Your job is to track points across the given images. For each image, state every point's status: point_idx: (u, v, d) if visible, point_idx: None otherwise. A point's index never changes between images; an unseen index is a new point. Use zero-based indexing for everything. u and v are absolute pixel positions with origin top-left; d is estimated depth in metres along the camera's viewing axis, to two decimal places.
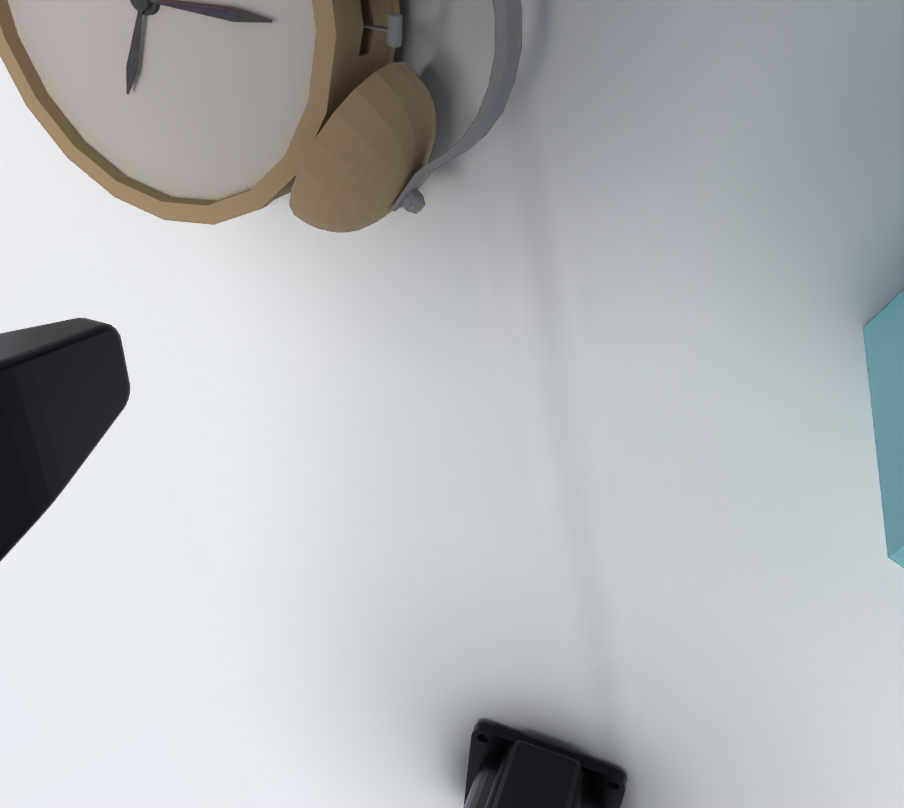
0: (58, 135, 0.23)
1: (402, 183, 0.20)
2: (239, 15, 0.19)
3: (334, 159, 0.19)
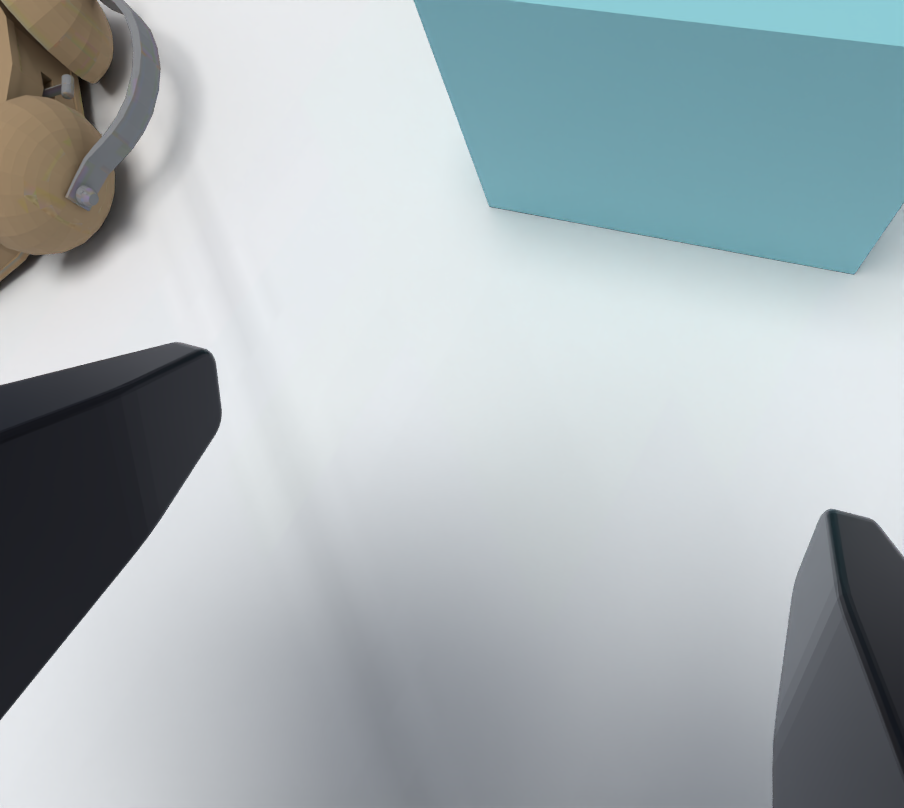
0: None
1: (73, 170, 0.24)
2: None
3: (2, 123, 0.23)
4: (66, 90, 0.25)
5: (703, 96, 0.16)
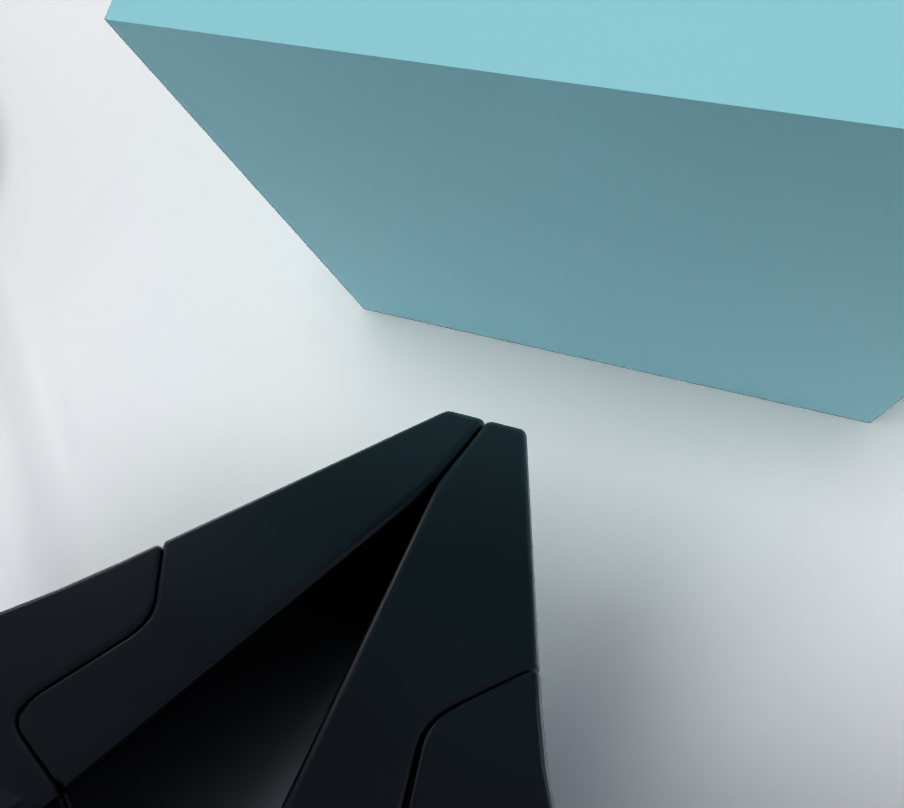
0: None
1: None
2: None
3: None
4: None
5: (623, 200, 0.09)
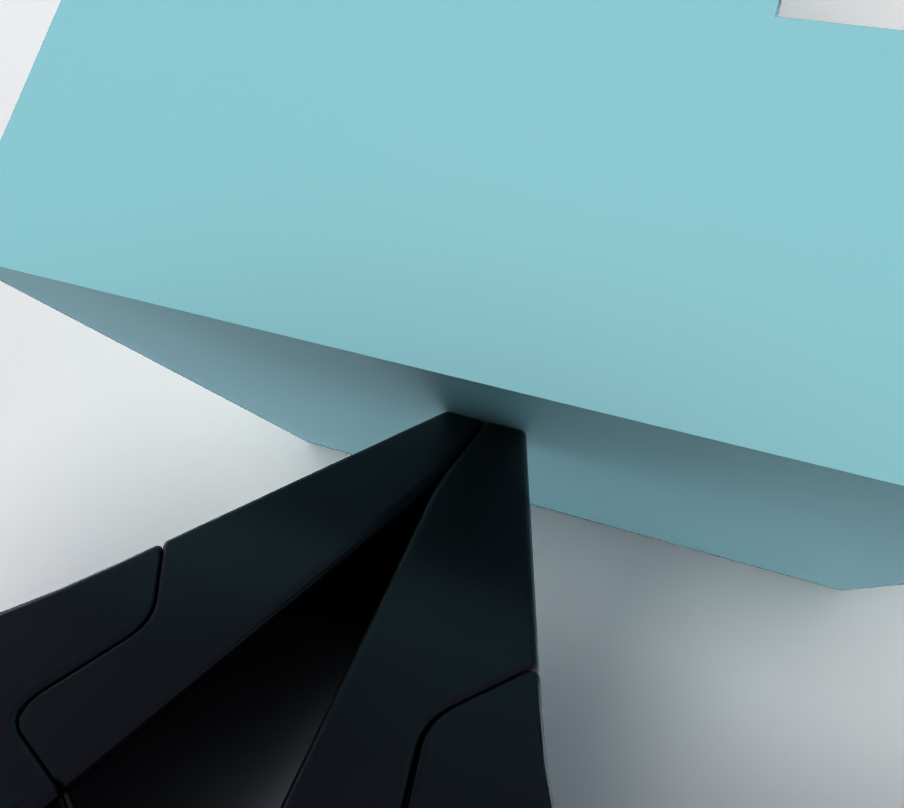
0: None
1: None
2: None
3: None
4: None
5: (545, 445, 0.08)
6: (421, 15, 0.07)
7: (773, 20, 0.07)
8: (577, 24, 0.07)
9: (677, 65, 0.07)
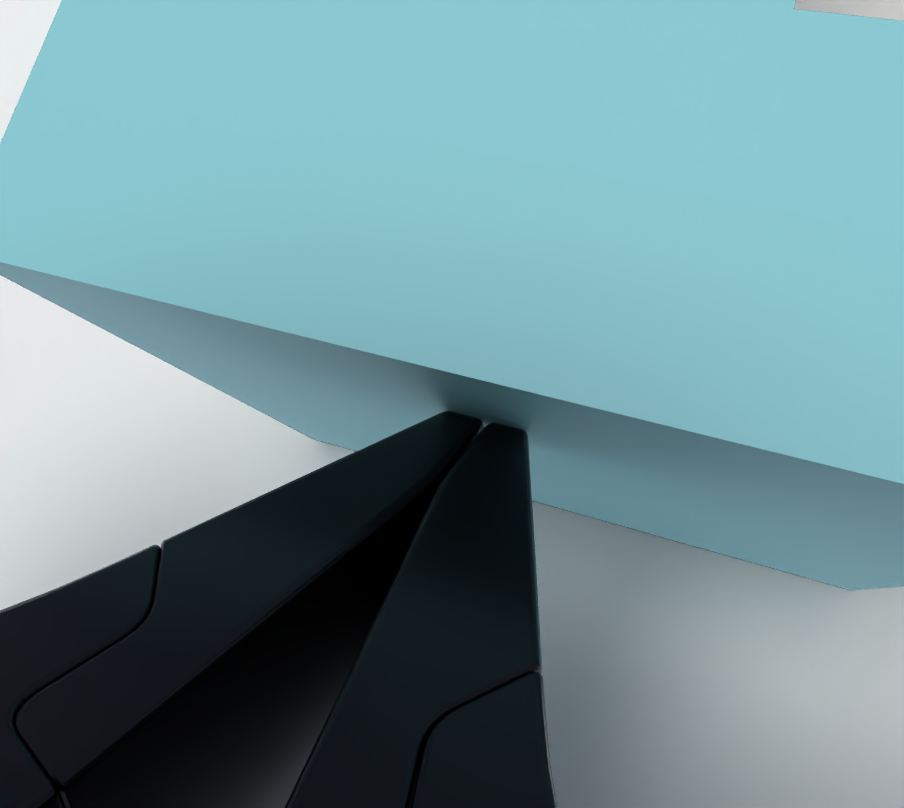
0: None
1: None
2: None
3: None
4: None
5: (555, 444, 0.08)
6: (432, 7, 0.07)
7: (793, 12, 0.07)
8: (591, 16, 0.07)
9: (693, 58, 0.07)
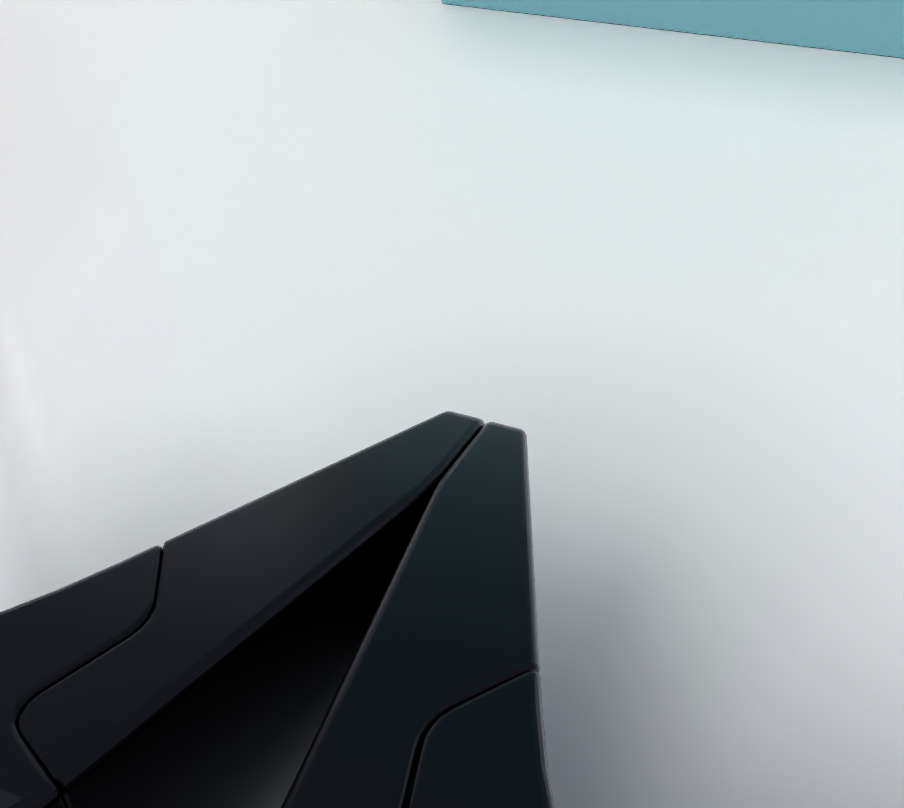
0: None
1: None
2: None
3: None
4: None
5: None
6: None
7: None
8: None
9: None
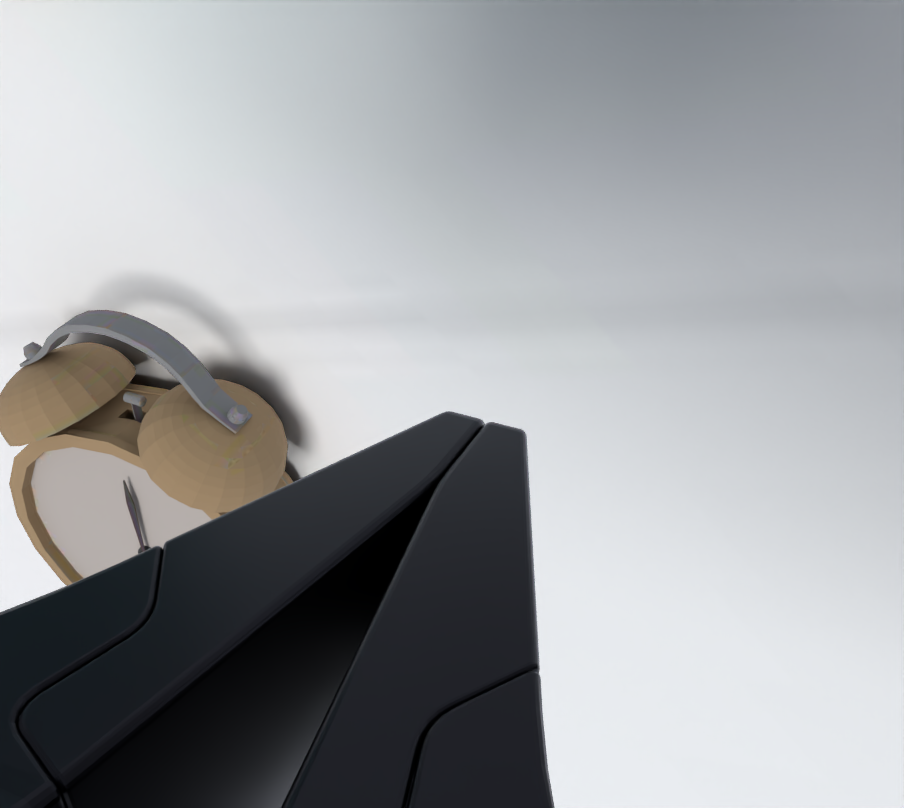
0: None
1: (211, 420, 0.25)
2: (129, 500, 0.28)
3: (160, 469, 0.25)
4: (137, 401, 0.26)
5: None
6: None
7: None
8: None
9: None
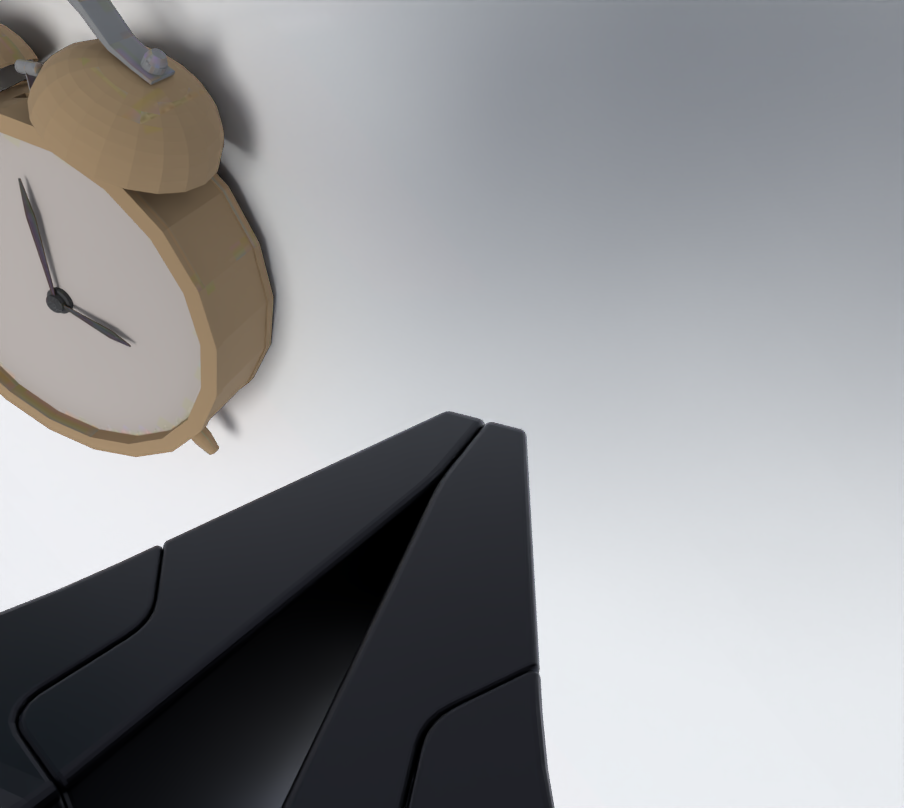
0: (184, 432, 0.25)
1: (120, 66, 0.20)
2: (28, 210, 0.22)
3: (52, 121, 0.19)
4: (32, 67, 0.21)
5: None
6: None
7: None
8: None
9: None
